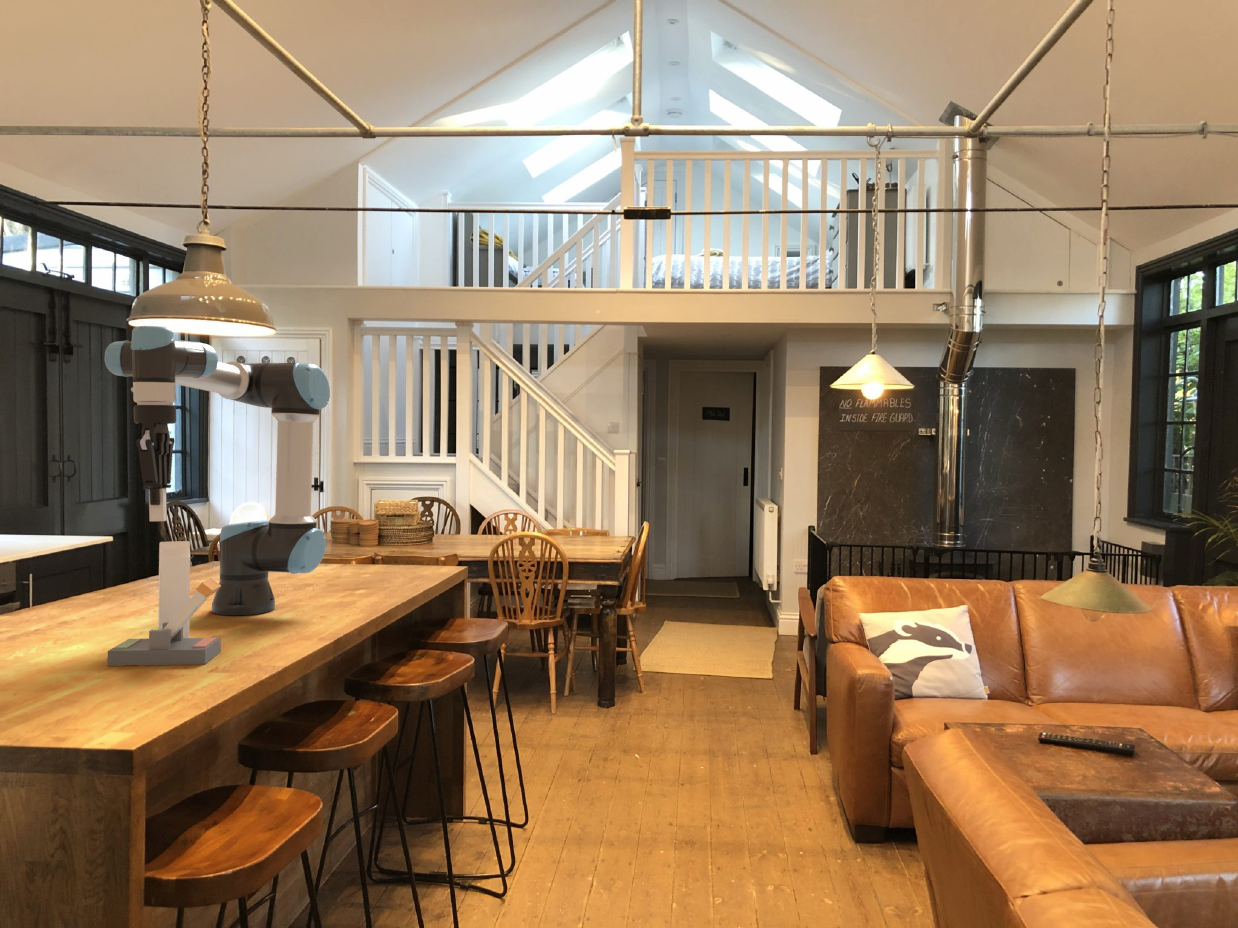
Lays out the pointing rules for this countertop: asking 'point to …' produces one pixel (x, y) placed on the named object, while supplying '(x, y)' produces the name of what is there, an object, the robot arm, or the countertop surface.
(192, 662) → the switch plate
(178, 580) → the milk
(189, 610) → the handle
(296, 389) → the robot arm
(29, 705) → the countertop surface
